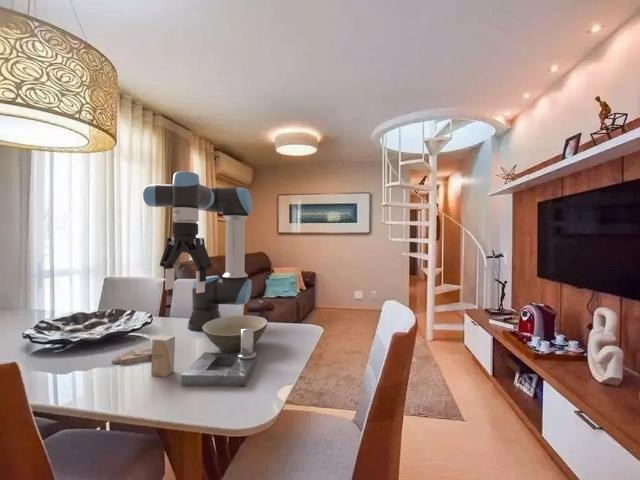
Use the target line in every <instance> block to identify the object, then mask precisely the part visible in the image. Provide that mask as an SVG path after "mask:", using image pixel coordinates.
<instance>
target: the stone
mask: <svg viewBox="0 0 640 480" xmlns="http://www.w3.org/2000/svg"><path fill="white" fill-rule="evenodd" d="M150 360H151V361H152V347H136V348H134V349H131V350H129V351H125V352H124V353H122V354H120V355H117V356H116V357H115V358H114V359H112V360H111V363H112V364H113V365H114V364H115V365H116V364H120V365H129V364H134V363H139V362H144V361H145V362H146V361H150Z"/></svg>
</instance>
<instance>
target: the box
mask: <svg viewBox="0 0 640 480" xmlns="http://www.w3.org/2000/svg"><path fill="white" fill-rule="evenodd" d="M151 342H152V343H151V344H152V345H151V348H152V360H151V371H150V374H151V376H153V377H154V376H155V377H168V376H169V375H171V374H172V373H173V372H174V371H175V354H176V353H175V352H176V351H175V349H176V348H175V347H176V344H175V343H176V336H175V335H163V334H162V335H161V334H160V335H159V336H156V337H154V338H153V339H152V341H151Z"/></svg>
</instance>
